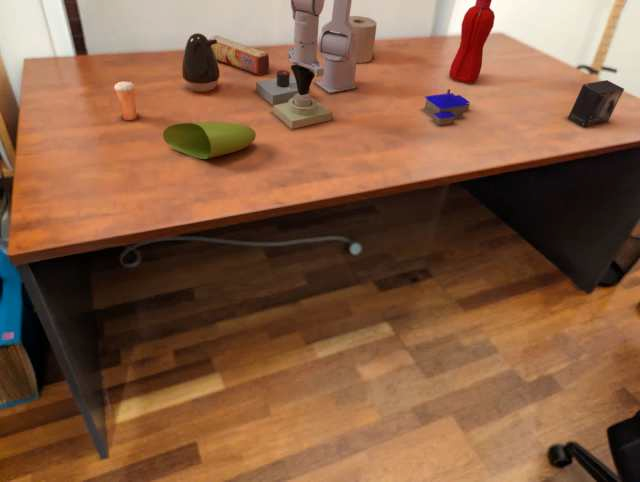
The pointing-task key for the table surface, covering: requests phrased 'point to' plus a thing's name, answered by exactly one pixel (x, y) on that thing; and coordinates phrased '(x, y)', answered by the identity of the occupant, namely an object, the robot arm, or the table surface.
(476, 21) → the water bottle
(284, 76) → the lock dial
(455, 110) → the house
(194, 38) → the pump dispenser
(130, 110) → the milkshake
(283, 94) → the dial panel
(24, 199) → the table surface
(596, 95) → the small box
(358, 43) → the toilet paper roll
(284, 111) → the button base
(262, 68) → the snack package
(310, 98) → the button
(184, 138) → the green scoop
